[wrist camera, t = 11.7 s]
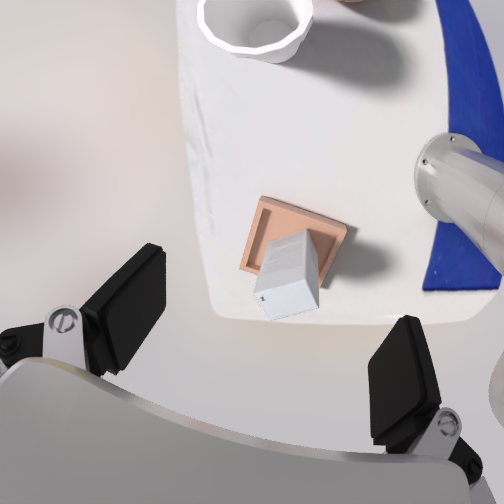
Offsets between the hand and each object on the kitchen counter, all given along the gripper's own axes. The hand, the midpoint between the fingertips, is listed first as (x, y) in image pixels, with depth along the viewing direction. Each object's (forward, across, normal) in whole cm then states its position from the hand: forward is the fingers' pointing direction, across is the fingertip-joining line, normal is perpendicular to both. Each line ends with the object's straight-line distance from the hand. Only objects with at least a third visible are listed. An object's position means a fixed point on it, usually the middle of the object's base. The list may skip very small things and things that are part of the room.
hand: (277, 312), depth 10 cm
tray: (+27, -1, +11) cm, 29 cm away
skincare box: (+26, -1, +11) cm, 29 cm away
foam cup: (+27, +7, -15) cm, 32 cm away
